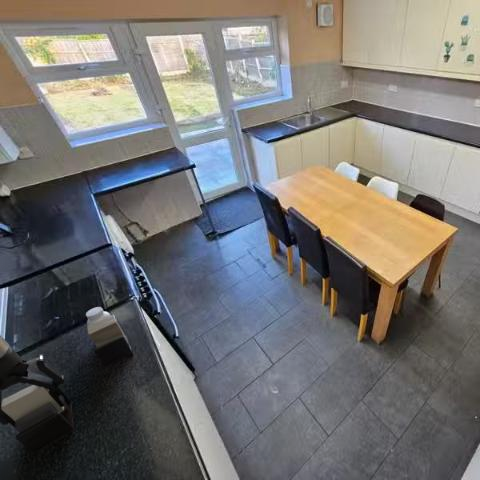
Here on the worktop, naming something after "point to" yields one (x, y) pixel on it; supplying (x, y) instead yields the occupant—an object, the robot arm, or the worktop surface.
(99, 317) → the supplement bottle
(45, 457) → the worktop surface
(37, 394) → the cream book
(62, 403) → the robot arm
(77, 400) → the worktop surface
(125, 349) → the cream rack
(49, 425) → the grey rack
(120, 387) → the worktop surface
